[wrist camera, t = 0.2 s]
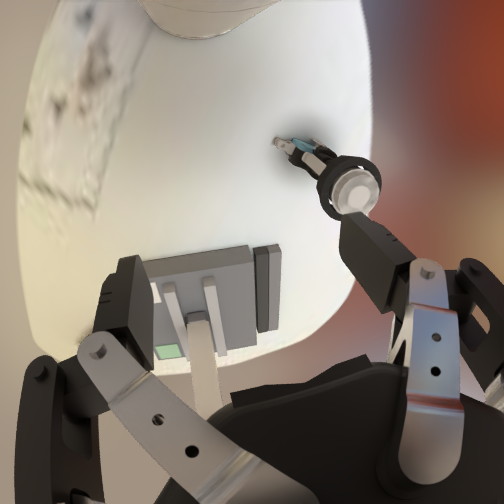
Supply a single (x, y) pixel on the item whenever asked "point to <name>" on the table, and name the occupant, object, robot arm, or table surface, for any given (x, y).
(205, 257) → the breaker panel
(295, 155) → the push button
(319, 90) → the table surface
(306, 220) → the table surface
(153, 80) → the table surface
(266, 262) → the grey long flat bar
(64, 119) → the table surface
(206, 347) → the breaker lever
